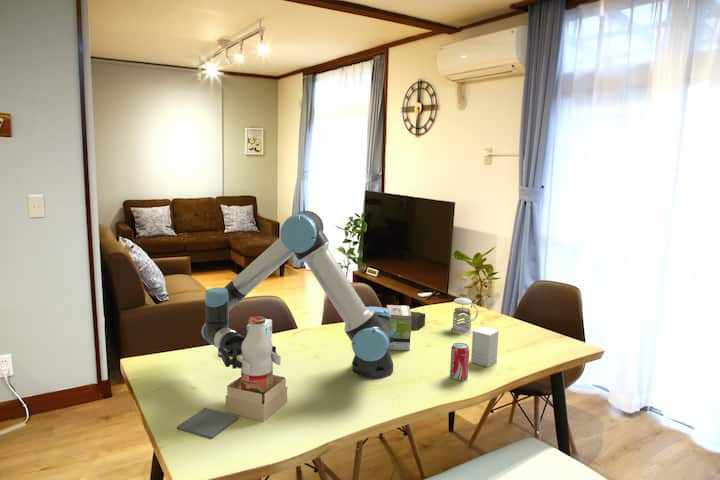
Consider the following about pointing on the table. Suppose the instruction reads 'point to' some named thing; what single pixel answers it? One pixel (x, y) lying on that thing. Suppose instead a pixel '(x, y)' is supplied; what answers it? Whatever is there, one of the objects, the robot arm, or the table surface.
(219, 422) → the coaster
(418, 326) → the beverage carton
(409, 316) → the tea box
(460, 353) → the soda can
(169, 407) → the table surface
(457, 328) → the french press
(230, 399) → the carton
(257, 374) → the fruit juice
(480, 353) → the supplement box
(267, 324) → the light bulb box
